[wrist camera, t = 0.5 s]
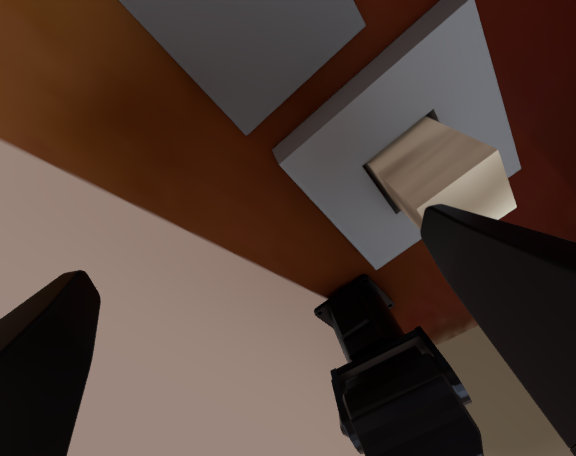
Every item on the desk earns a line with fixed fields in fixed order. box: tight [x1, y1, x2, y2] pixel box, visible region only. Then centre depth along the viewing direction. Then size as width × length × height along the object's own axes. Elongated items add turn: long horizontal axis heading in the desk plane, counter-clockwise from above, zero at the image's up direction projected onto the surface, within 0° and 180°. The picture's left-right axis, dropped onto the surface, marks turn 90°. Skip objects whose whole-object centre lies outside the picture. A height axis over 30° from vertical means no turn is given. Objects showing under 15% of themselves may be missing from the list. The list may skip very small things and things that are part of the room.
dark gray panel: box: [119, 0, 366, 136], centre depth 16 cm, size 9×9×1 cm
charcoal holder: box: [272, 0, 521, 270], centre depth 21 cm, size 13×13×2 cm
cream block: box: [364, 116, 517, 229], centre depth 19 cm, size 4×4×8 cm
